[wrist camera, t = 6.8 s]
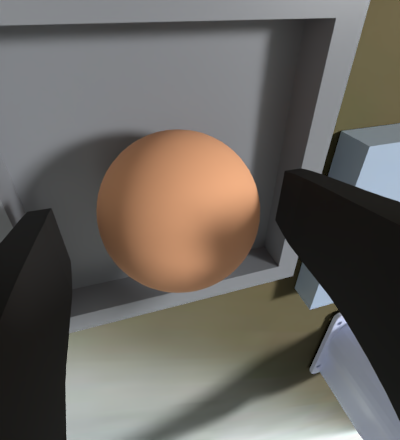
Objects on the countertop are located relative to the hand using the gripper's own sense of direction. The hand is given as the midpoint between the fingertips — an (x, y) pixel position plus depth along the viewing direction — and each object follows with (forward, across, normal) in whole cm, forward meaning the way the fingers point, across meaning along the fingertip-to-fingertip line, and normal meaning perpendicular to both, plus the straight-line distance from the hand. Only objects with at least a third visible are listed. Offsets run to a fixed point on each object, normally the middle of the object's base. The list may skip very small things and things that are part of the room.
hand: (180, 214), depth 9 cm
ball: (+3, 0, 0) cm, 3 cm away
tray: (+3, 0, 0) cm, 3 cm away
